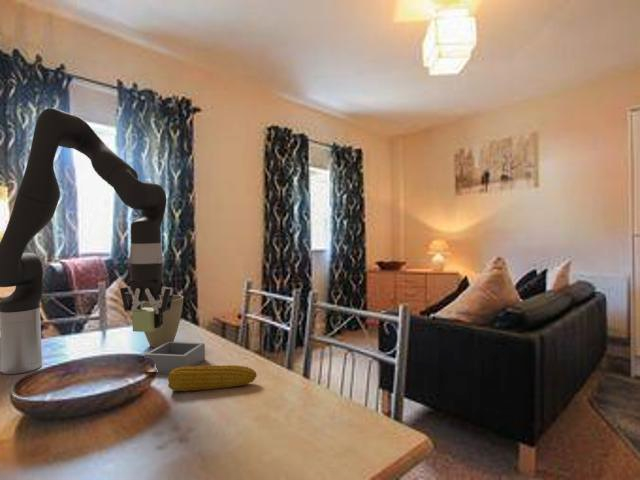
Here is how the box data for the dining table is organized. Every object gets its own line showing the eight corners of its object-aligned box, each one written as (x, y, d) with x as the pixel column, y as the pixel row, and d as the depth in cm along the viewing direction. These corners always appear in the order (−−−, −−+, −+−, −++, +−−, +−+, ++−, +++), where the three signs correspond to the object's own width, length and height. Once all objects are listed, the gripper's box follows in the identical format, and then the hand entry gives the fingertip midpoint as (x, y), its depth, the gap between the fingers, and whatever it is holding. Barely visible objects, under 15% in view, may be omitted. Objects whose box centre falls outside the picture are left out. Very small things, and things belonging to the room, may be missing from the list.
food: (167, 397, 93) (166, 372, 93) (171, 387, 98) (170, 364, 98) (257, 388, 97) (256, 364, 97) (256, 379, 103) (255, 357, 103)
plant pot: (193, 341, 137) (192, 296, 137) (155, 353, 125) (154, 303, 124) (166, 335, 145) (165, 293, 145) (128, 346, 133) (127, 299, 132)
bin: (144, 372, 109) (144, 354, 109) (168, 357, 121) (167, 341, 120) (185, 374, 107) (184, 356, 107) (204, 359, 119) (204, 343, 118)
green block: (132, 331, 98) (132, 311, 98) (144, 326, 103) (144, 307, 103) (151, 332, 97) (150, 312, 97) (162, 326, 102) (161, 307, 102)
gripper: (110, 262, 97) (112, 330, 98) (164, 262, 95) (165, 332, 95) (130, 259, 105) (131, 322, 105) (180, 260, 102) (181, 324, 103)
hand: (147, 327), depth 100 cm, fingers closed on green block, 5 cm apart
